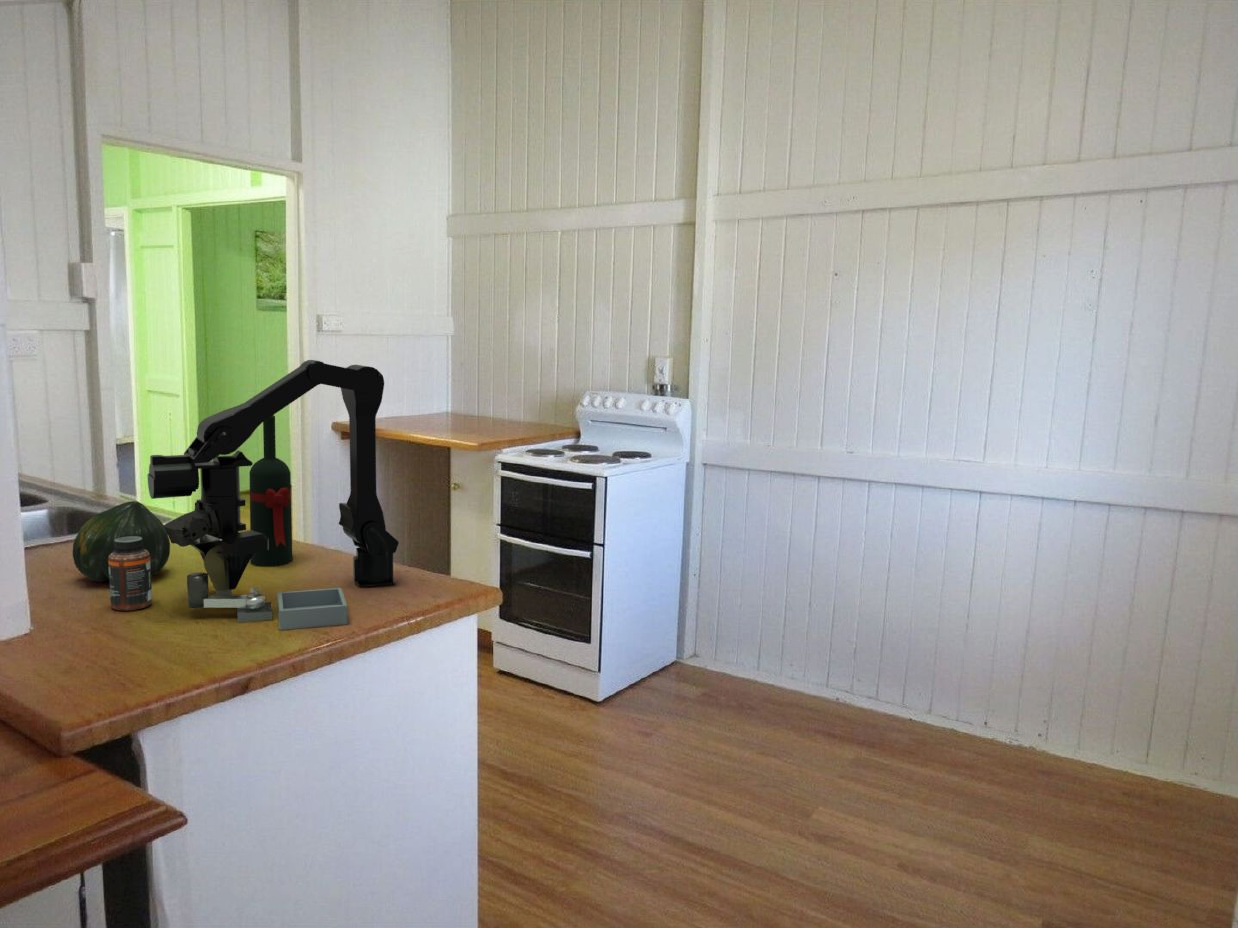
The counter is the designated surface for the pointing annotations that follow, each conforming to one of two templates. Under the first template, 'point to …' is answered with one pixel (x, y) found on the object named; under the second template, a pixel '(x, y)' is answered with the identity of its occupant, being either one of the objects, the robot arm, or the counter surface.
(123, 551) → the supplement bottle
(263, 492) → the wine bottle
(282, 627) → the tray
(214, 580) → the light bulb
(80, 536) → the squash
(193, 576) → the crank
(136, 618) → the counter surface
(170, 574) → the counter surface
